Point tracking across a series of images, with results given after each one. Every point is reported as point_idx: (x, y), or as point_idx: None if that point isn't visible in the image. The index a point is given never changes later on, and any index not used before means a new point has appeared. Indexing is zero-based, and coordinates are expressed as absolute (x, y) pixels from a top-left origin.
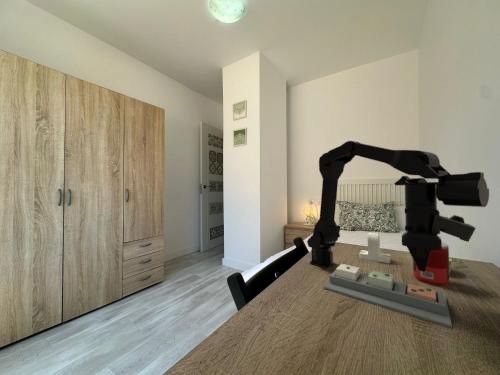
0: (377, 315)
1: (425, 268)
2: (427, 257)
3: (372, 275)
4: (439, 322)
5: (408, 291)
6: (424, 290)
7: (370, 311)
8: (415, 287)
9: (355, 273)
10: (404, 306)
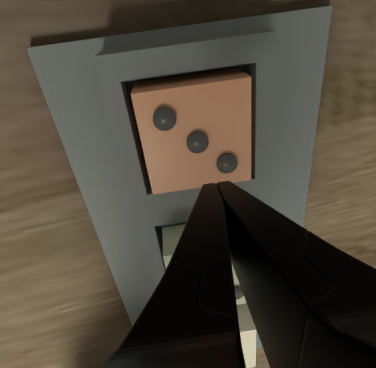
0: (366, 194)
1: (241, 189)
2: (328, 248)
3: (237, 296)
4: (326, 46)
5: (249, 175)
6: (184, 130)
7: (352, 212)
8: (179, 165)
9: (255, 328)
10: (279, 157)
